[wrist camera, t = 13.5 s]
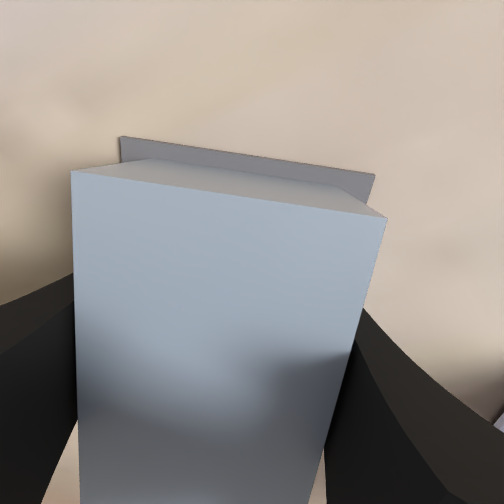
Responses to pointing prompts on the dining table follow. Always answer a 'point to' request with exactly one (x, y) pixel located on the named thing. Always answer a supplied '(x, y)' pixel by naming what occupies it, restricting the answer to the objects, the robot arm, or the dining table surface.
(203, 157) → the tape square
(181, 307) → the pale grey-blue block
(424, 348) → the dining table surface
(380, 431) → the robot arm
